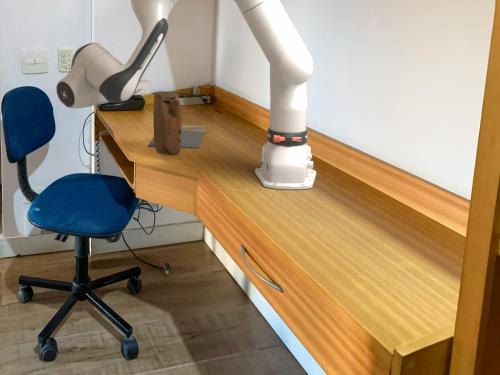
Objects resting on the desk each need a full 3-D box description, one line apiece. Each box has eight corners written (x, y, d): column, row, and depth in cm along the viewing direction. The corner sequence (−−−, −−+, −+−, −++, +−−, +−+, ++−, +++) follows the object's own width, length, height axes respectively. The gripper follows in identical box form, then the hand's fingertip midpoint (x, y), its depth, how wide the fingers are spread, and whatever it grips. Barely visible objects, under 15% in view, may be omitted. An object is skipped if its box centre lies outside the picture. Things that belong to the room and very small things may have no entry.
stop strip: (204, 132, 234) (204, 126, 233) (157, 131, 234) (157, 125, 233) (204, 131, 236) (204, 125, 235) (158, 130, 236) (158, 124, 235)
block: (152, 149, 209) (151, 91, 202) (172, 147, 212) (172, 90, 206) (163, 157, 200) (162, 97, 193) (184, 154, 203) (184, 95, 197)
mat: (198, 148, 211) (198, 147, 211) (147, 147, 211) (147, 146, 211) (204, 132, 234) (204, 131, 234) (157, 131, 234) (157, 130, 234)
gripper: (133, 79, 167) (162, 74, 178) (77, 73, 176) (109, 68, 187) (134, 102, 169) (163, 95, 180) (78, 94, 178) (110, 88, 189)
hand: (135, 81), depth 184 cm, fingers closed
